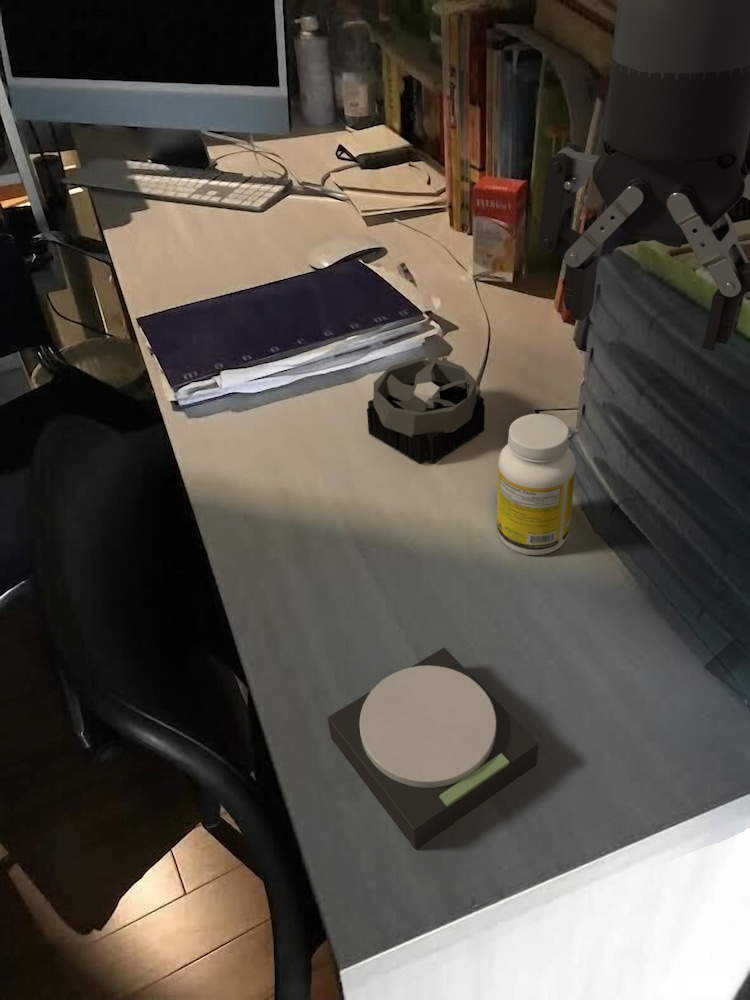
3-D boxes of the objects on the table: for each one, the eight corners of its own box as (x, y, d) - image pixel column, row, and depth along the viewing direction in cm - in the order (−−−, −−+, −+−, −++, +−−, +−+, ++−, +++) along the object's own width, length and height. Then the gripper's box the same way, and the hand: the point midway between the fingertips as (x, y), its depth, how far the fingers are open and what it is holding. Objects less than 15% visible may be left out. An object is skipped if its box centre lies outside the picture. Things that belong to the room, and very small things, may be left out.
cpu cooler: (423, 426, 76) (350, 385, 82) (425, 475, 80) (355, 433, 86) (499, 380, 81) (425, 345, 87) (497, 428, 85) (426, 391, 91)
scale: (536, 764, 56) (539, 736, 53) (415, 850, 52) (413, 823, 50) (444, 668, 62) (443, 639, 60) (330, 738, 58) (325, 710, 56)
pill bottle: (529, 500, 76) (536, 398, 69) (583, 533, 72) (596, 429, 65) (481, 532, 73) (483, 429, 66) (534, 569, 69) (542, 464, 62)
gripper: (529, 56, 44) (517, 332, 54) (822, 76, 37) (744, 385, 48) (584, 25, 48) (564, 284, 59) (854, 38, 42) (777, 327, 52)
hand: (645, 329), depth 53 cm, fingers open, 8 cm apart
